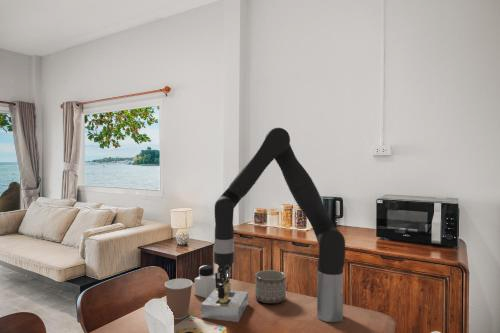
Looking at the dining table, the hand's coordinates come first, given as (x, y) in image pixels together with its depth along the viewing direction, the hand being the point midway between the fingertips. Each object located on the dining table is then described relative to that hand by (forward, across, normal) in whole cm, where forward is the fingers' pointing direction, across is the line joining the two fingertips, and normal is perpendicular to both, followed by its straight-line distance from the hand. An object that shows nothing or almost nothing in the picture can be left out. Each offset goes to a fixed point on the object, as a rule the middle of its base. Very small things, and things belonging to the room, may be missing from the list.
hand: (223, 294), depth 130 cm
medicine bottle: (+8, +18, +13) cm, 23 cm away
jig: (+7, +4, 0) cm, 8 cm away
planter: (+8, +18, -15) cm, 25 cm away
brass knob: (+6, 0, 0) cm, 6 cm away
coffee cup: (+8, -4, +16) cm, 18 cm away
